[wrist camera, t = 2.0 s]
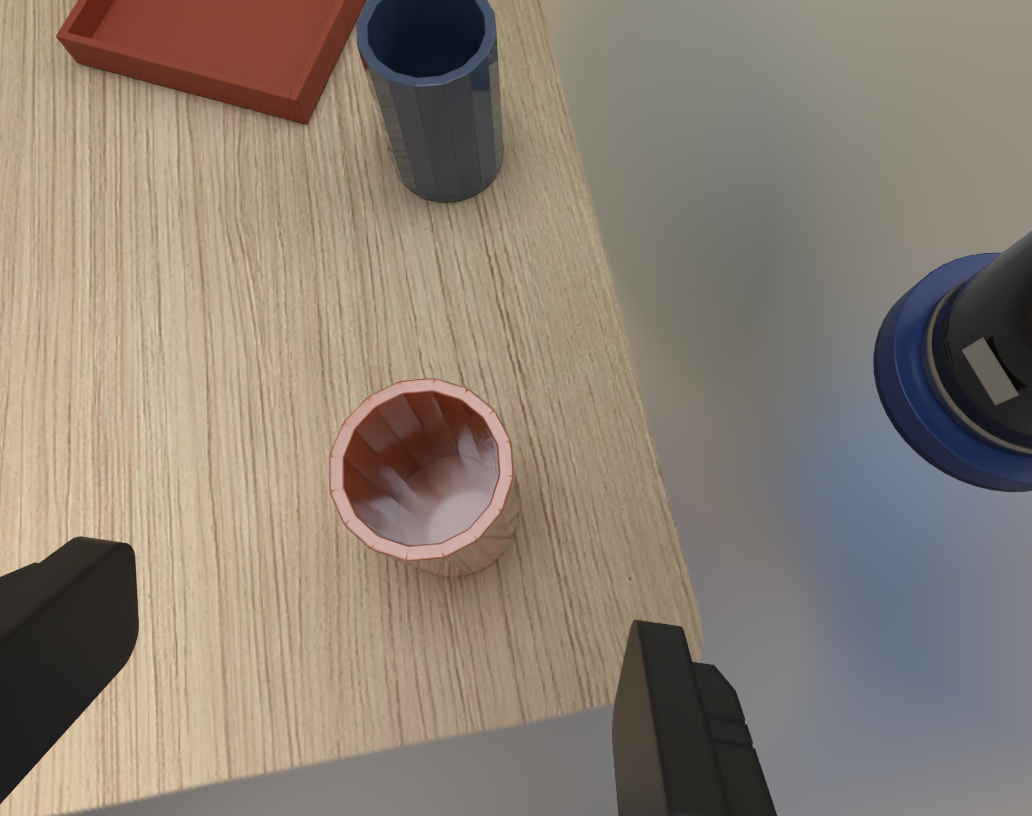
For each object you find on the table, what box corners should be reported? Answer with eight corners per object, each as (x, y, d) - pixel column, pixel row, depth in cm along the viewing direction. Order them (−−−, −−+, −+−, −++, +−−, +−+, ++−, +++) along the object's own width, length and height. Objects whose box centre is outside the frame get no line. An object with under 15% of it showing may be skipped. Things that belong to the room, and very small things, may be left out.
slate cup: (517, 123, 40) (513, -9, 32) (482, 215, 39) (469, 100, 30) (416, 97, 41) (385, -40, 32) (378, 186, 39) (335, 66, 31)
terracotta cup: (534, 470, 35) (536, 408, 24) (494, 594, 33) (478, 585, 23) (416, 434, 35) (368, 357, 25) (372, 553, 34) (300, 526, 23)
